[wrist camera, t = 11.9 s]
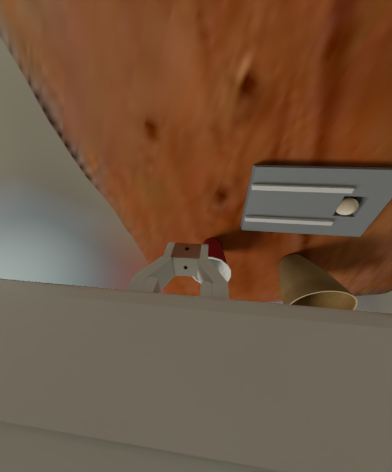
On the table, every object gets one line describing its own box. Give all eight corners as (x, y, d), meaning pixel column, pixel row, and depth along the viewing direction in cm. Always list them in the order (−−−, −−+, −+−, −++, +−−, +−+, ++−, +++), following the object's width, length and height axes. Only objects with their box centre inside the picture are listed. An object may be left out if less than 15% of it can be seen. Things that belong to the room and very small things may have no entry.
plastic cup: (203, 225, 44) (200, 252, 34) (234, 239, 46) (240, 269, 36) (189, 249, 50) (183, 278, 40) (217, 261, 52) (217, 291, 42)
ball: (351, 201, 31) (368, 201, 32) (335, 195, 35) (351, 194, 35) (340, 218, 34) (356, 218, 34) (326, 210, 37) (341, 210, 37)
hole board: (253, 164, 33) (257, 168, 30) (401, 167, 31) (421, 172, 28) (240, 225, 42) (242, 232, 39) (352, 231, 40) (363, 239, 37)
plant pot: (273, 280, 55) (291, 327, 42) (262, 253, 48) (280, 299, 35) (320, 269, 49) (357, 319, 36) (315, 237, 42) (359, 285, 29)
